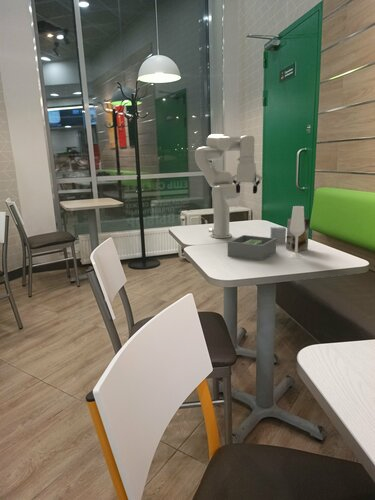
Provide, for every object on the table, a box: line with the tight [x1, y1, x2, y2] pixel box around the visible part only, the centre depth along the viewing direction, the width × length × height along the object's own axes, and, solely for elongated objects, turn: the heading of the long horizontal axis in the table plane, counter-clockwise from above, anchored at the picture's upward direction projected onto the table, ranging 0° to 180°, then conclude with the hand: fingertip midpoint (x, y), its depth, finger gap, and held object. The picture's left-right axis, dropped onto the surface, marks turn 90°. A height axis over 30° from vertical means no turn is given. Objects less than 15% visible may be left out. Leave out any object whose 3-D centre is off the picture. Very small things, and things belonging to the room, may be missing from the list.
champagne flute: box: [288, 205, 305, 259], centre depth 167 cm, size 7×7×24 cm
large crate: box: [227, 234, 277, 262], centre depth 176 cm, size 18×18×7 cm
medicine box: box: [269, 226, 287, 244], centre depth 198 cm, size 8×4×9 cm, turn 84°
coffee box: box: [285, 217, 310, 252], centre depth 182 cm, size 9×6×16 cm
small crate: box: [244, 240, 262, 245], centre depth 176 cm, size 6×10×5 cm, turn 146°
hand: (246, 193), depth 190 cm, fingers open, 9 cm apart
